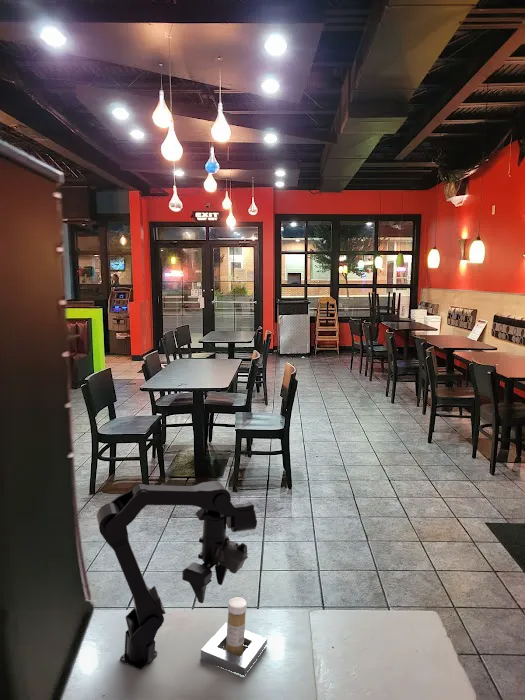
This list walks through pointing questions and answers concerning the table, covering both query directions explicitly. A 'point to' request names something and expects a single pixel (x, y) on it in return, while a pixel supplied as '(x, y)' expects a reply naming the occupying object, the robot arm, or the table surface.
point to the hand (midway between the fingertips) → (210, 593)
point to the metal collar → (228, 660)
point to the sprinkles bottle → (236, 625)
